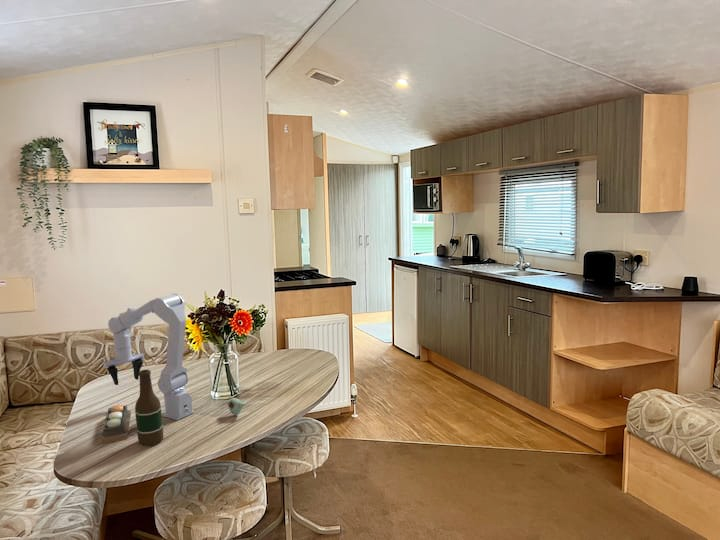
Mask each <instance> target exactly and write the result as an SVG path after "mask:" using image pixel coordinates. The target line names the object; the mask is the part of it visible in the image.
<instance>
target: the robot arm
mask: <svg viewBox="0 0 720 540" xmlns="http://www.w3.org/2000/svg"><path fill="white" fill-rule="evenodd" d="M185 304H186V302H185V300H184V299H183V298H182V296H181V295H179V294H178V293H173V294H169V295H166V296H162V297H156V298H154V299H152V300H149V301H147V302H146V303H144V304H143V305H141V306H140V307H133V306H132V307H129V308H126V311H125V312H120V313H119V315H118V316H112V317H111V318H110V319H109V320H108V323H107V325H108V329H109V330H110V332H111V333H112V335H113V346H114V354H115V358H113V359H111V360H107V361H105V362H103V368H104V369H106V370H107V372H108V373H109V374H110V376H111V379H112V382H113V384H114V385H115V386H119V378H118V374H119V373H118V368H117V367H116V366H119V365H125V364H128V363H131V364H132V368H133V378H134V379H135V380H140V376H139V375H138V374H139V372H140V371H141V369H142V367H143V364H144V360H145V354H144V353H138V354H137V353H136V354H133V353H132V343H131V332H132V327H133V326H135V325H137V324H139V323H140V322H141V321H142V320H143V319H144V316H146V315H148V314H150V313H151V314H153V313H154V314H155V315H156V316H157V317H158V318H160V319H161V320H162V321H163V322H165V323H166V324H168V337H167V349H166V360H165V362H166V363H165V367H164V368H163V369H162V370H161V372H160V377H159V378H158V380H157V386H158V389H159V391H160V392H161V393H162V394H163V399H164V412H161V413H162V417H165V418H168V419H171V420H175V421H178V420H179V421H180V419H183V418H185V417H187V416H189V415H192V414H194V413H195V410H193V403H192V396H191V394H190V393H188V392H187V391H186V390H185V388H187V387H186V385H187V384H188V382H189V376H188V368H187V367H186V366H185V365H183V360H184V351H185V350H184V347H185V335H186V328H187V327H186V325H187V318H186V314H185Z"/></svg>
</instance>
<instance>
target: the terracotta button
mask: <svg viewBox="0 0 720 540" xmlns="http://www.w3.org/2000/svg"><path fill="white" fill-rule="evenodd" d="M123 406H124V405H123V404H115V405H113V406H111V407H109V408H110V409H111V413H113V412H123V411H124V409H123Z"/></svg>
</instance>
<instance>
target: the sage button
mask: <svg viewBox="0 0 720 540" xmlns="http://www.w3.org/2000/svg"><path fill="white" fill-rule="evenodd" d="M117 426H121V420H120V419H112V420H109V421H108V422H107V428H111V427H117Z"/></svg>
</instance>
